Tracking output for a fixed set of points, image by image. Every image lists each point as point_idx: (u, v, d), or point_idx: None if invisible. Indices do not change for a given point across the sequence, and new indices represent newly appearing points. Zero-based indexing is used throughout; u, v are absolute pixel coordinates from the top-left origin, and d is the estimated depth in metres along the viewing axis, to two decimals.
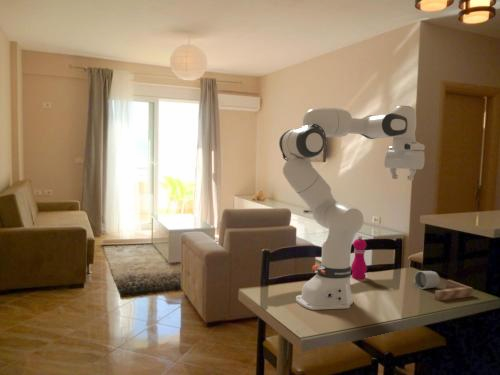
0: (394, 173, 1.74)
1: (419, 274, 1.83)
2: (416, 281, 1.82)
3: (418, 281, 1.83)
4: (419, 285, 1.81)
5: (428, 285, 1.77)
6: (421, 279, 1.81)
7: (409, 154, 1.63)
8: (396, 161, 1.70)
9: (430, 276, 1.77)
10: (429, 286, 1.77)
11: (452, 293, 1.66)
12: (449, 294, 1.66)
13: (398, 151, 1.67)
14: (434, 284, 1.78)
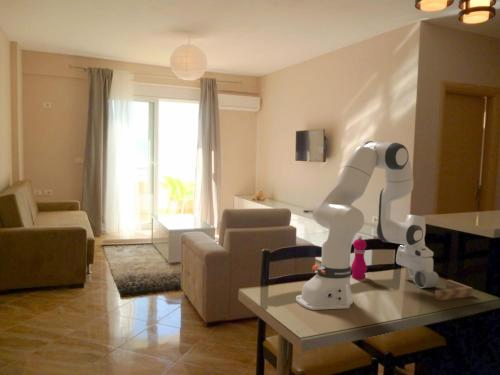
0: (411, 273, 1.89)
1: (418, 273, 1.83)
2: (415, 280, 1.83)
3: (417, 281, 1.83)
4: (418, 284, 1.82)
5: (427, 284, 1.77)
6: (420, 278, 1.81)
7: (419, 259, 1.82)
8: (407, 262, 1.89)
9: (429, 275, 1.78)
10: (428, 285, 1.78)
11: (452, 293, 1.66)
12: (449, 294, 1.66)
13: (409, 254, 1.86)
14: (433, 283, 1.78)
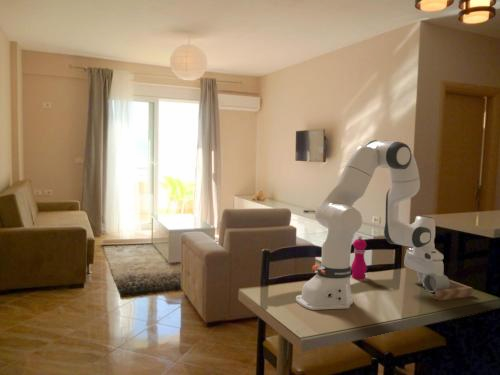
0: (420, 276, 1.84)
1: (428, 277, 1.78)
2: (425, 284, 1.78)
3: (427, 284, 1.78)
4: (428, 288, 1.77)
5: (438, 288, 1.72)
6: (430, 282, 1.76)
7: (429, 262, 1.77)
8: (416, 265, 1.84)
9: (440, 279, 1.72)
10: (439, 289, 1.72)
11: (452, 293, 1.66)
12: (449, 294, 1.66)
13: (418, 257, 1.81)
14: (444, 287, 1.73)
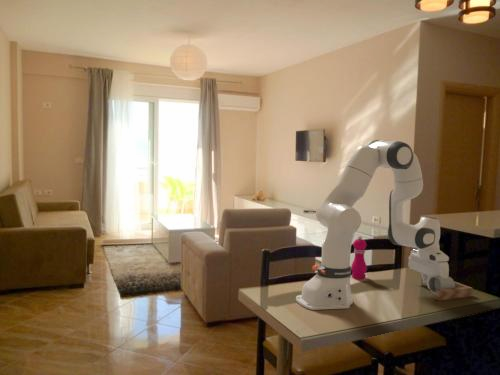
0: (425, 278, 1.81)
1: (433, 279, 1.75)
2: (430, 286, 1.75)
3: (432, 286, 1.75)
4: (433, 290, 1.74)
5: None
6: (435, 284, 1.73)
7: (434, 264, 1.74)
8: (421, 266, 1.81)
9: (445, 281, 1.70)
10: None
11: (452, 293, 1.66)
12: (449, 294, 1.66)
13: (423, 259, 1.78)
14: None
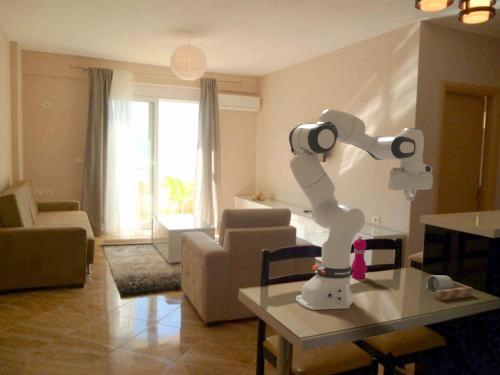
0: None
1: (431, 278, 1.76)
2: (428, 286, 1.76)
3: (430, 286, 1.76)
4: (431, 290, 1.75)
5: None
6: (434, 284, 1.74)
7: (425, 175, 1.71)
8: (410, 183, 1.69)
9: (443, 281, 1.71)
10: None
11: (452, 293, 1.66)
12: (449, 294, 1.66)
13: (417, 173, 1.68)
14: None
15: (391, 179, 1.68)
